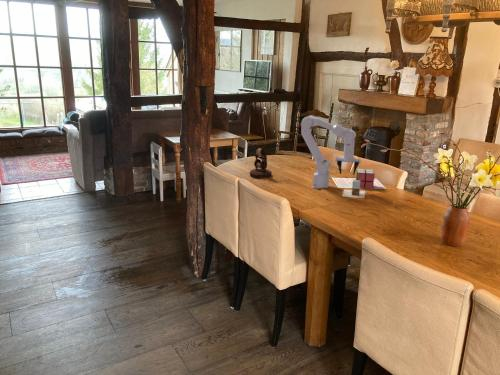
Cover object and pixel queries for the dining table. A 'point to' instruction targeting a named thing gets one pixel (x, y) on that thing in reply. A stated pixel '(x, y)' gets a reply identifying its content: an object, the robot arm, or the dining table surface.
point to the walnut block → (355, 191)
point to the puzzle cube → (365, 178)
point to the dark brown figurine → (260, 163)
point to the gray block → (356, 184)
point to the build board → (349, 194)
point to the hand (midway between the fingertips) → (347, 174)
